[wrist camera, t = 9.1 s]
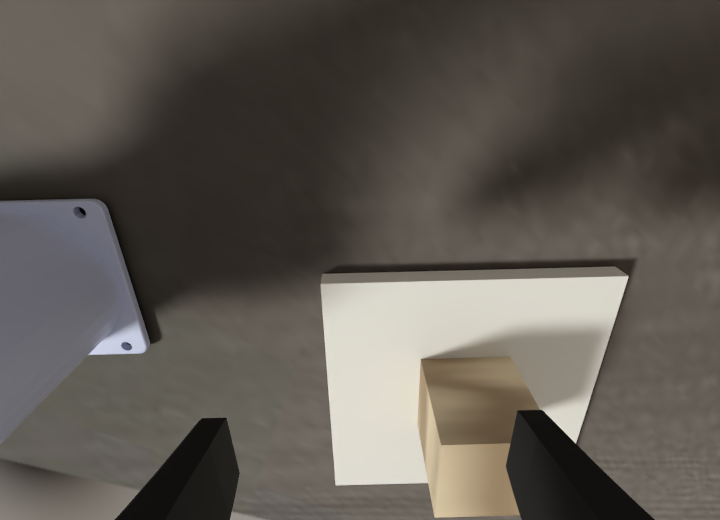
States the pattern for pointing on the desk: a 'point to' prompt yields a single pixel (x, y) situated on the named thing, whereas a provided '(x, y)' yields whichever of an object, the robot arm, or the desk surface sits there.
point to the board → (454, 350)
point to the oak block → (470, 432)
